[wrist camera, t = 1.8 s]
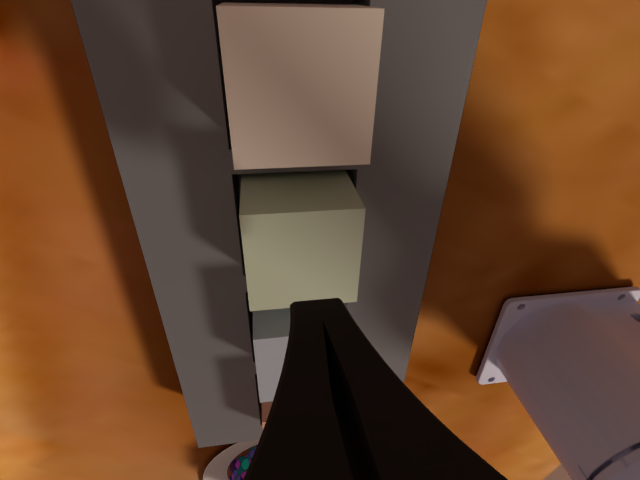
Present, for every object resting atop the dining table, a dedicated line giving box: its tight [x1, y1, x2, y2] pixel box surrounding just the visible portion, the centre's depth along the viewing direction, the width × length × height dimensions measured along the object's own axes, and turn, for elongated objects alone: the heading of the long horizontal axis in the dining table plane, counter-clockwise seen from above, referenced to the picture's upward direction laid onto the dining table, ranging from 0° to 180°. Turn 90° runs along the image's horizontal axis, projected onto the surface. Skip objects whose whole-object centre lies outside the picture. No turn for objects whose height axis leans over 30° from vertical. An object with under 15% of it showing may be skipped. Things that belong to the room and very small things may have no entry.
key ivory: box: [216, 2, 385, 170], centre depth 11 cm, size 4×4×3 cm
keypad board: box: [71, 0, 487, 448], centre depth 18 cm, size 12×24×3 cm, turn 179°
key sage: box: [239, 170, 366, 311], centre depth 14 cm, size 4×4×3 cm
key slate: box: [253, 303, 348, 403], centre depth 17 cm, size 4×4×3 cm
